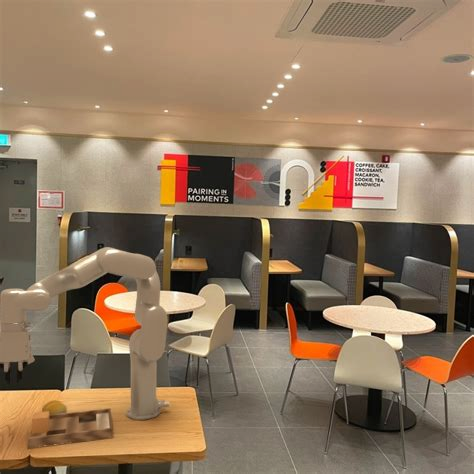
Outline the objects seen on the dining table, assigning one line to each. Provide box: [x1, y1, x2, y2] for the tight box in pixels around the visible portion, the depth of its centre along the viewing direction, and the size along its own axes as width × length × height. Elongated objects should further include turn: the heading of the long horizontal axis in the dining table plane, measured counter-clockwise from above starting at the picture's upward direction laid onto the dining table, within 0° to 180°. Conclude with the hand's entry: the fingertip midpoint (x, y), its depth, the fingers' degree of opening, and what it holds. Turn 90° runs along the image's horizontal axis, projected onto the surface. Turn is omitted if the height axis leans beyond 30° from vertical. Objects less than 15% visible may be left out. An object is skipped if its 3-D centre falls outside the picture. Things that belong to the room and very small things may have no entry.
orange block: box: [31, 411, 49, 434], centre depth 157 cm, size 5×5×5 cm
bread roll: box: [41, 399, 67, 415], centre depth 176 cm, size 8×9×4 cm
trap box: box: [27, 407, 114, 450], centre depth 160 cm, size 26×17×3 cm, turn 108°
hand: (14, 381), depth 154 cm, fingers closed
